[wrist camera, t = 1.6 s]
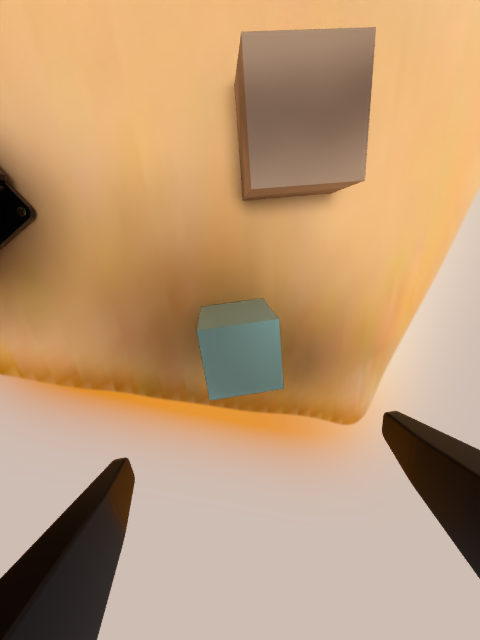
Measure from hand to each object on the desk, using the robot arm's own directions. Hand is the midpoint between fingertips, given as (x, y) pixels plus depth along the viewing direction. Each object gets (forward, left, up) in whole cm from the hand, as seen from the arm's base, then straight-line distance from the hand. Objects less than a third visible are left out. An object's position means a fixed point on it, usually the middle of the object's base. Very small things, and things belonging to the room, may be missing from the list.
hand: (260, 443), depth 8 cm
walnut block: (+10, +8, -11) cm, 17 cm away
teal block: (0, 0, -11) cm, 11 cm away
